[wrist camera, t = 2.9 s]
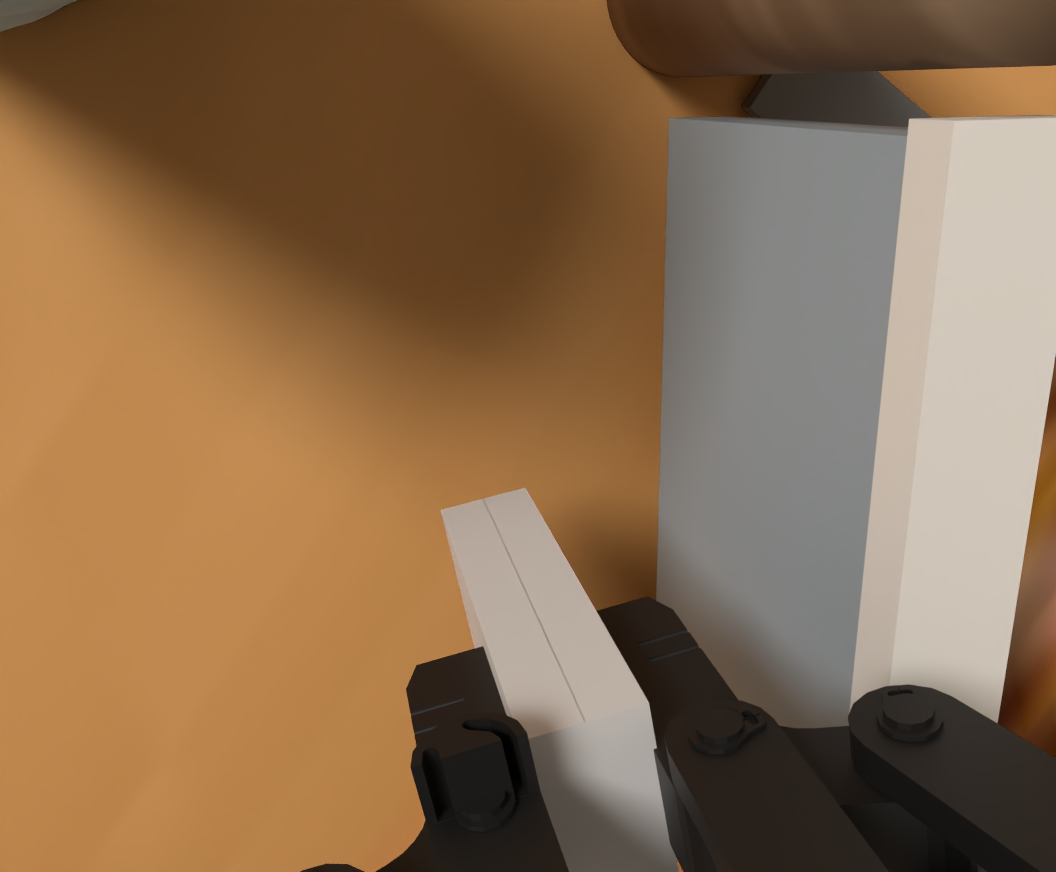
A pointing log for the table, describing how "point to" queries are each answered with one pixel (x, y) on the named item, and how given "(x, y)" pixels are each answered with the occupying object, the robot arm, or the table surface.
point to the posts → (833, 47)
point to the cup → (27, 11)
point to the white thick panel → (854, 400)
